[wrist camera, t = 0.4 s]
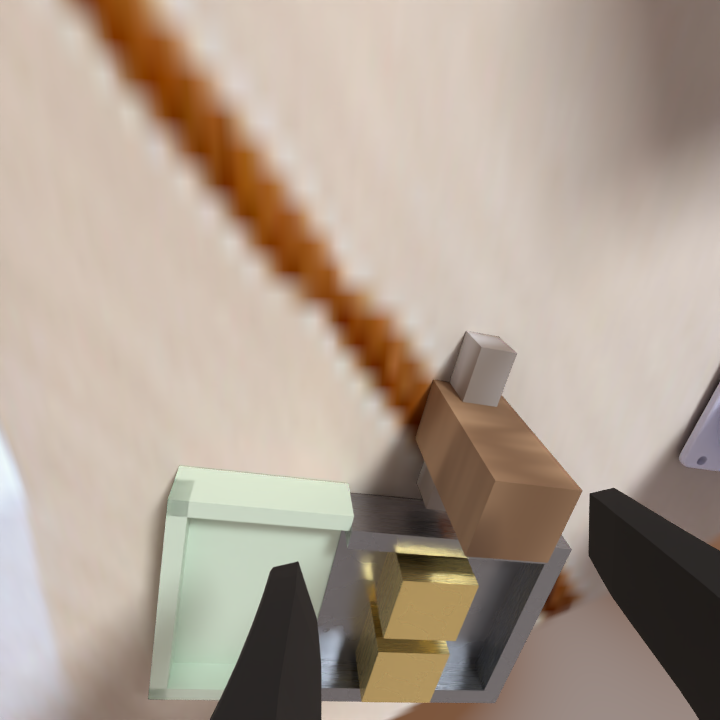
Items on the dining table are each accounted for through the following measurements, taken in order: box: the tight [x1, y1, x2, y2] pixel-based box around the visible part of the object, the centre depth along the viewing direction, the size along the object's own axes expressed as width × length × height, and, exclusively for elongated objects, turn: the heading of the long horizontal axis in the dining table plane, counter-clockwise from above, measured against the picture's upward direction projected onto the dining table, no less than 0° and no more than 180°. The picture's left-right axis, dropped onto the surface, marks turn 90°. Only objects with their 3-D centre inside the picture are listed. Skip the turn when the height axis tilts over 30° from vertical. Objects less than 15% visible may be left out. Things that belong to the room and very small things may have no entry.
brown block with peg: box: [415, 331, 582, 563], centre depth 19 cm, size 3×8×7 cm, turn 168°
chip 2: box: [355, 605, 450, 703], centre depth 24 cm, size 4×4×2 cm
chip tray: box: [148, 466, 354, 700], centre depth 23 cm, size 8×12×2 cm, turn 168°
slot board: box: [317, 493, 572, 703], centre depth 25 cm, size 10×11×2 cm
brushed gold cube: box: [375, 552, 479, 641], centre depth 23 cm, size 4×4×2 cm
